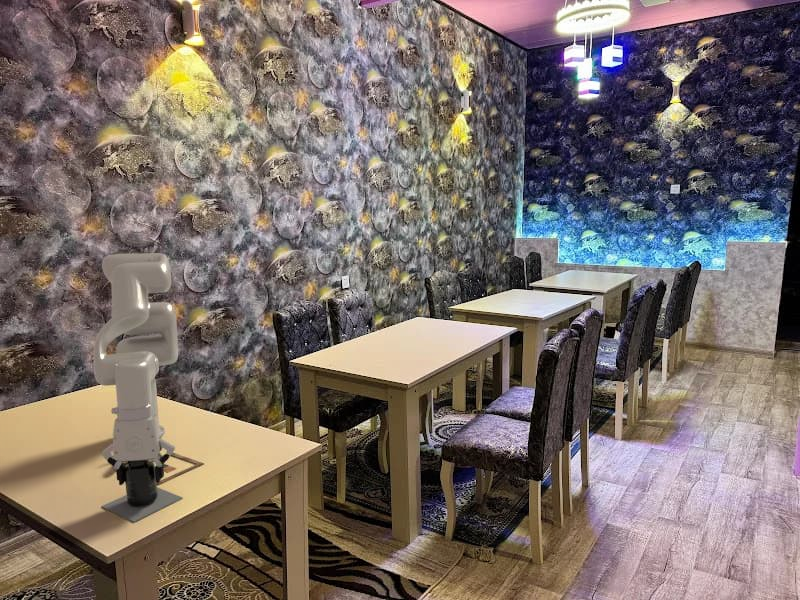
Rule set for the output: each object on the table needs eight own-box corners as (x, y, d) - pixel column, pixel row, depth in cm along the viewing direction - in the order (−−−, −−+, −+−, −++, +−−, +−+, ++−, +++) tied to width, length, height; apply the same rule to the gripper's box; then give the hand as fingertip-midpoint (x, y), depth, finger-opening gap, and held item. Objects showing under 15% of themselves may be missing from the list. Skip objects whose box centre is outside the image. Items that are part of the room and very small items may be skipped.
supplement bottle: (149, 491, 145) (145, 445, 144) (163, 499, 141) (159, 451, 140) (121, 502, 140) (117, 454, 139) (135, 509, 136) (131, 460, 135)
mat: (101, 507, 139) (101, 506, 138) (150, 485, 149) (150, 484, 149) (134, 522, 132) (134, 521, 132) (182, 498, 143) (182, 497, 143)
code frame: (125, 471, 157) (125, 470, 157) (171, 452, 169) (170, 451, 169) (158, 485, 150) (158, 483, 150) (204, 464, 162) (203, 463, 162)
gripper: (90, 419, 132) (97, 491, 135) (170, 415, 134) (174, 486, 137) (102, 408, 139) (108, 476, 142) (177, 404, 142) (182, 472, 145)
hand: (141, 481), depth 140 cm, fingers open, 7 cm apart
